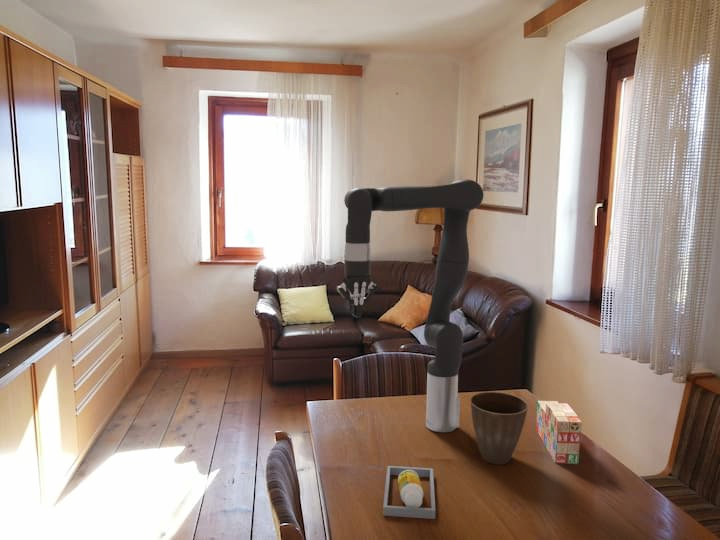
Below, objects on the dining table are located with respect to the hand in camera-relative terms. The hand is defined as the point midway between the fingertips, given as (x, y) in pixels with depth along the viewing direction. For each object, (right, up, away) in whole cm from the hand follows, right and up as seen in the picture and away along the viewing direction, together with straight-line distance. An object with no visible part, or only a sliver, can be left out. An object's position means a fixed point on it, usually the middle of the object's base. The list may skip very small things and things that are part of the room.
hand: (357, 316), depth 162 cm
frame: (+13, -40, -29) cm, 51 cm away
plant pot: (+38, -38, -11) cm, 55 cm away
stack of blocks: (+57, -37, -3) cm, 68 cm away
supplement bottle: (+13, -37, -27) cm, 48 cm away
